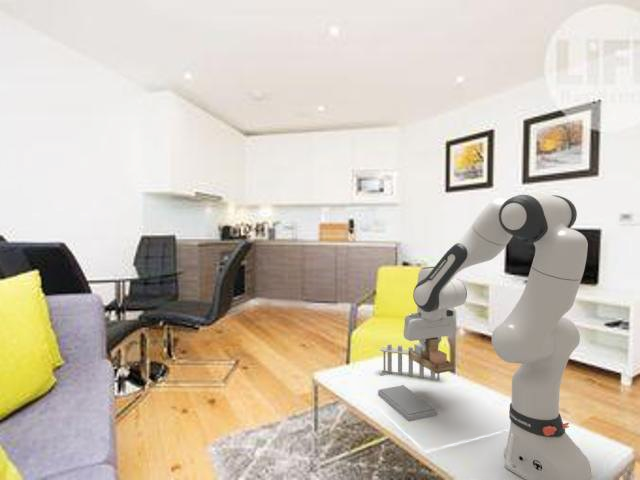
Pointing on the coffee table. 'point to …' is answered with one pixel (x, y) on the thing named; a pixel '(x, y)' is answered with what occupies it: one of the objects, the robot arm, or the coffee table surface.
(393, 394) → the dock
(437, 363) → the block
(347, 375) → the coffee table surface
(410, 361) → the test tube rack
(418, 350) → the pale blue cube
